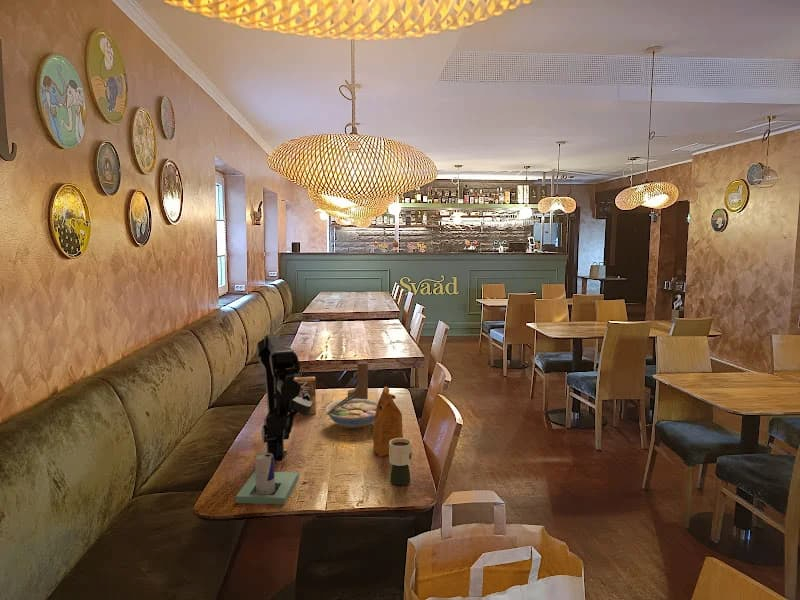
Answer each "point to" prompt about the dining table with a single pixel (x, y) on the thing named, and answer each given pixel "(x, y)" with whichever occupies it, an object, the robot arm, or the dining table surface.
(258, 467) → the energy drink
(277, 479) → the socket board
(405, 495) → the dining table surface
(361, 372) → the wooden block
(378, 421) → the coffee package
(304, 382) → the candy box
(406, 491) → the dining table surface
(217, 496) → the dining table surface
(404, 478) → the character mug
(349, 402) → the ramen bowl
